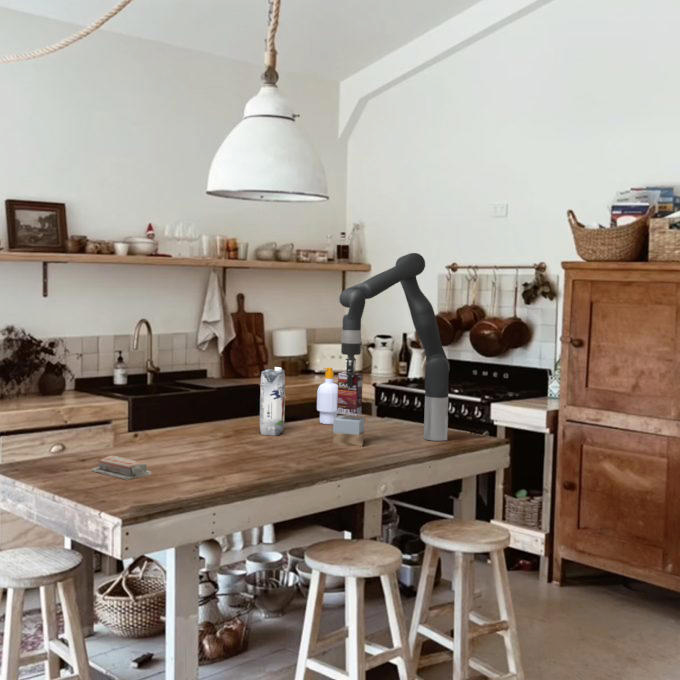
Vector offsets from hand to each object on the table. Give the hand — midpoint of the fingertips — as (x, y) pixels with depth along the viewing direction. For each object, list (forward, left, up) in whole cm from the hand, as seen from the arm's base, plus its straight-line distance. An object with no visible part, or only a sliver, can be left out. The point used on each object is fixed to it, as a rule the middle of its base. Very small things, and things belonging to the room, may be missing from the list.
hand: (350, 385), depth 336 cm
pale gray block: (0, 0, -18) cm, 18 cm away
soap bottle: (+11, -44, -23) cm, 51 cm away
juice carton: (+32, -14, -23) cm, 42 cm away
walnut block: (0, 0, -23) cm, 23 cm away
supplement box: (0, 0, -11) cm, 11 cm away
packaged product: (+69, +63, -23) cm, 96 cm away
